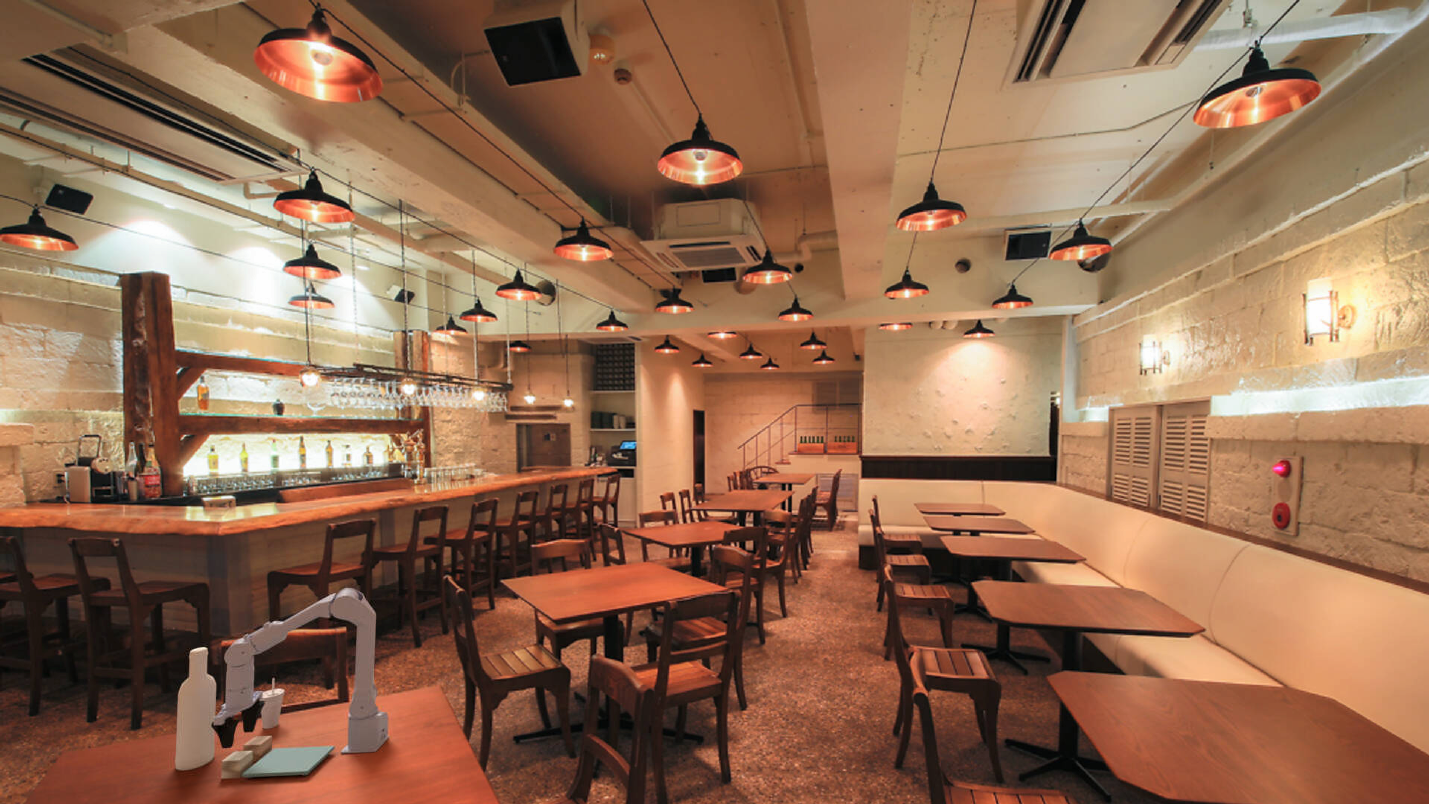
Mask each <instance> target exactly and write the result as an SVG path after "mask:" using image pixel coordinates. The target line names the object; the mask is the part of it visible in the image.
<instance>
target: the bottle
mask: <svg viewBox="0 0 1429 804" xmlns="http://www.w3.org/2000/svg"><path fill="white" fill-rule="evenodd" d="M208 655H209V651H208V648H207V647H197V648H194V649H191V650H190V652H189V656H188V659H189V666H188V667H189V668H188V669H189V671H188V677H187V679H185V680H184V681H183V682H182V683H181V686H180V688H179V690H178V693H177V709H176V710H177V711H176V712H177V717H176V741H175V742H176V745H175V759H174V760H175V761H174V763H175V769H176V771H177V770H178V771H189V770H194V769H197V768H201V767H202V766H205V765H206V764H209V763H210V762H211V761H212V760H213V759H214V757H215V747H216V746H215V738H216V737H215V733H216V732H215V730H214V729H213V728H212V727H211V723H212V722H213V721H214V717H215V716H216V704H217V703H216V701H217V699H216V697H217V682H216V680H215V678H214V677H213V676H212V675H210V674H209V673H208Z"/></svg>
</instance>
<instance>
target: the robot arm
mask: <svg viewBox="0 0 1429 804" xmlns="http://www.w3.org/2000/svg"><path fill="white" fill-rule="evenodd" d="M331 616H333V618H336V619H339V620H343V621H348V622H350V623H352V624H354V625H355V626H356V643H355V645H356V646H355V647H356V648H355V672H354V673H355V674H354V687H353V692H352V697H351V701H350V704H349V706H348V712H349V713H348V719H347V720H348V721H347V722H348V725H347V727H348V728H347V745H346V746H345V747H343V749H341V751H340V754H354V753H358V754H359V753H373V752H374V753H376V752H377V751H378V749H380V748H381V747H382V746H383V744H384V743H385V742H386V741H387V740H388V739H389V737H390V735H389V715H388V713H387V711H381V710H379V707H378V706H377V705H376V700H377V696H378V689H377V687H376V685H375V675H374V673H375V671H374V670H375V653H376V652H375V650H376V649H375V648H376V626H377V625H376V623H377V621H376V620H377V613H376V611H375V610H374V609H373V607H372V606H371V605H370V603H369V601H368V600H367V599H366V597H365V595H364V593H362V592H360V591H359V590H357V589H356V588H351V587H346V588H343V589H340V591H338V592H337V593H336V592H335V593H332V594H330V595H328V596H326V597H324V598H322V599H321V600H318V601H316V602H315V603H313V604H312V605H310V606H308V607H306V608H305V609H303V610H301V611H299V612H297V613H296V614H294V615H292V616H290V617H289V618H287V619H286V620H284V621H281V620H280V621H279V620H274V621H272V622H270V621H267V622H266V623H263V625H262V627H261V628H259V629H257V630H255V631H254V632H252V633H250V634H249V633H247V634H245V635H243V637H242V638H238V639H236V640H235V641H234V642H233V643H232V644H231V645H230V646H229V647H228V649H226V651H225V653H224V657H223V658H224V662H225V663H226V664H227V665H226V674H225V675H226V677H225V678H226V679H225V703H224V704H222V705H221V706H220V707H221V710H220V711H219V712H218V714H217V715H215V717H214V721H213V722H212V723H211V727H212V728H213V729H214V730H215V733H216V735H217V737H218V739H219V742H220V746H221V748H222V749H230V748H231V749H232V747H233V746H234V742H235V741H234V740H235V735H236V730H237V727H238V724H239V723H240V719H233V717H234V716H235V715H237V714H238V713H241V717H242V718H241V719H242V729H243V732H244V733H245V734H246V733H247V734H248V733H254V731H255V728H256V725H257V723H258V719H259V716H260V715H261V710H262V708H263V706H264V705H265V701H259V700H261V699H262V698H263V692H264V691H262V690H261V691H260V690H259V691H254V685H255V683H254V682H255V665H254V664H255V655H259V654H261V653H264V652H265V651H267V650H269V649H271V648H272V647H274V646H276V645H277V644H280V643H281V642H283V641H285V640H286V638H287V636H288V633H290V632H291V631H294V630H295V629H298V628H300V627H302V626H303V625H306V624H307V623H309V622H311V621H313V620H315V619H317V618H319V617H320V618H331Z"/></svg>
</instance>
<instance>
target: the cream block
mask: <svg viewBox="0 0 1429 804" xmlns="http://www.w3.org/2000/svg"><path fill="white" fill-rule="evenodd" d="M252 760H253V751H243V750H240V751H239V750H238V751H237V750H236V751H233V752H232V753H231V754H230V755H228V756H227V757H225V758H224V759H222V761H221V771H220V773H221V775H220V776H221V779H222V780H223V779H240V778H242V774H243V773H244V772H245V771H247V770H248V769H249V768H250V767H252V766H253V762H252Z"/></svg>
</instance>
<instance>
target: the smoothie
mask: <svg viewBox="0 0 1429 804" xmlns="http://www.w3.org/2000/svg"><path fill="white" fill-rule="evenodd" d="M275 680H276V679H275V678H274V677H273V678H272V681H271V683H272V684H271V688H272V689H269V690H266V691H263V698H262V699H261V700H259V701H265V705H264V706H263V708H262V710H261V712H260V715H261V722H262V728H263V729H264V730H268V729H272V728H275V727H277V726H278V725H279V722H280V716H281V710H282V703H283V699H284V696H285V689H283V688H275Z"/></svg>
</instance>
